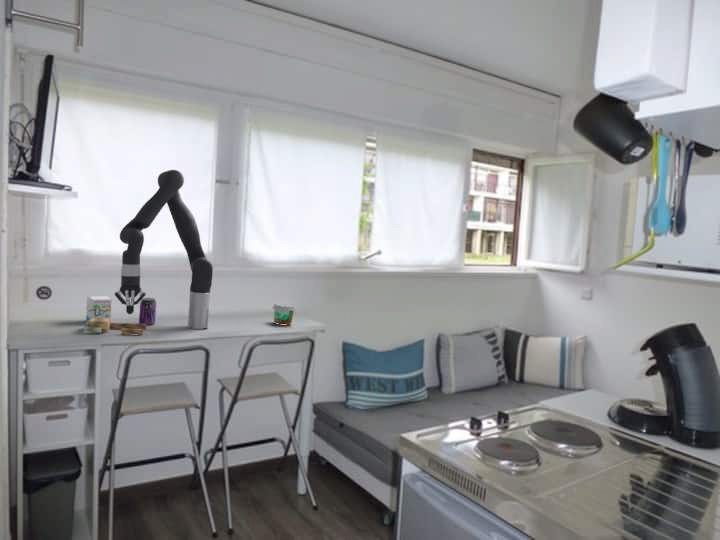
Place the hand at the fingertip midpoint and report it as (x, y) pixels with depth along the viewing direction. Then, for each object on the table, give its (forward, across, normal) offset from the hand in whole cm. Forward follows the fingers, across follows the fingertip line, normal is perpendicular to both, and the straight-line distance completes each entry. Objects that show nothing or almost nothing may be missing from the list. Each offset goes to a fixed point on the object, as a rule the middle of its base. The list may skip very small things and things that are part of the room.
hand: (129, 313), depth 229 cm
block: (+8, +12, -1) cm, 15 cm away
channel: (+8, +5, -1) cm, 10 cm away
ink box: (+8, +16, -18) cm, 25 cm away
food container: (+10, -70, -27) cm, 75 cm away
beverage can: (+9, -5, -17) cm, 20 cm away
